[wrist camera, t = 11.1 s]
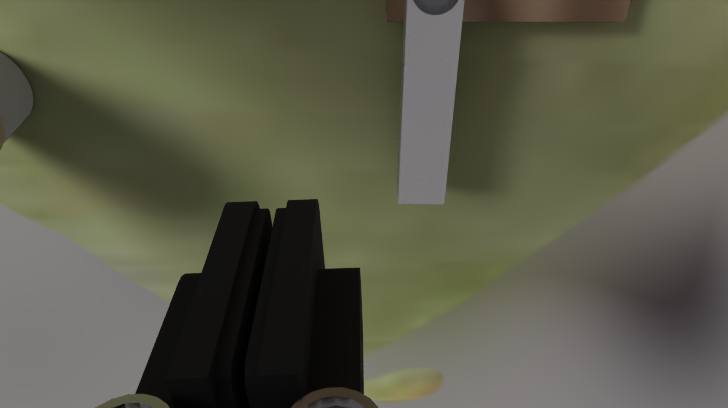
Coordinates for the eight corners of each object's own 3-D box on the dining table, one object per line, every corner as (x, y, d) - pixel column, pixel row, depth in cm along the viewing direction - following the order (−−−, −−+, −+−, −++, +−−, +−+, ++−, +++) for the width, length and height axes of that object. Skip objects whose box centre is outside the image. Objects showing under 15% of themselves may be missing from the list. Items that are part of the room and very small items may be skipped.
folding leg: (406, -48, 31) (409, -38, 29) (460, -47, 31) (467, -37, 29) (397, 180, 39) (397, 203, 37) (440, 181, 39) (444, 204, 37)
